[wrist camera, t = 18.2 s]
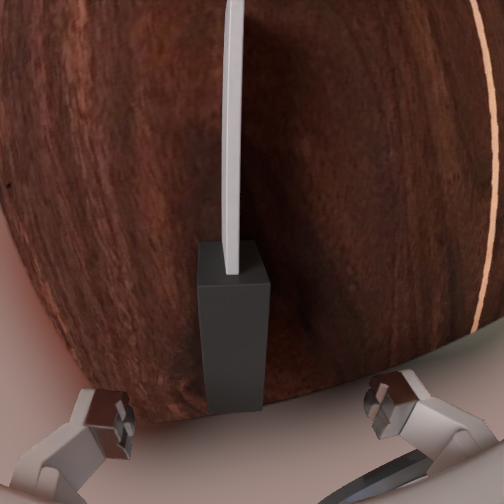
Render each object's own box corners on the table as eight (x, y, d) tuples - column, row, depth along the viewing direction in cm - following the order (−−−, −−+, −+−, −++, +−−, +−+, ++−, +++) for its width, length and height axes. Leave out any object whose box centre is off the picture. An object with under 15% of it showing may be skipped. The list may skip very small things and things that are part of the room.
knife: (261, 11, 9) (281, -26, 6) (251, 355, 15) (262, 411, 12) (200, 10, 9) (198, -30, 6) (206, 357, 15) (208, 414, 12)
